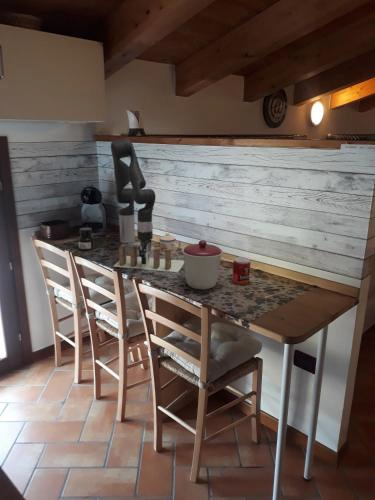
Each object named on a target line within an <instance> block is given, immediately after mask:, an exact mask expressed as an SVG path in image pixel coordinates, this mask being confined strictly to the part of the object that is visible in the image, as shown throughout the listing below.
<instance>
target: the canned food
mask: <svg viewBox="0 0 375 500" xmlns="http://www.w3.org/2000/svg"><path fill="white" fill-rule="evenodd" d="M232 264H233V265H232V282H233V283H234V284H235V285H240V286H245V285H248V284H249V283H250V273H251V259H250V258H249V257H244V256H238V257H234V258H233V263H232Z"/></svg>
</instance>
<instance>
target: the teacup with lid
mask: <svg viewBox="0 0 375 500" xmlns="http://www.w3.org/2000/svg"><path fill="white" fill-rule="evenodd" d="M159 247H160V255H164V256H165V250H166V249H167V248H171V256H173V255H175V254H176V251H177V249H178V245H177V243H176V237H175V236H172V235H170V233H165V234H164V235H162V236H160V237H159Z"/></svg>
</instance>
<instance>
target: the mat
mask: <svg viewBox="0 0 375 500" xmlns="http://www.w3.org/2000/svg"><path fill="white" fill-rule="evenodd" d="M113 267H116V268H117V267H118V268H127V269H139V270H149V271H160V272H173V273H179V272H180V270H181V269H182V267H184V260H178V259H171V268H170V269H169V270H165V258H160V266H159V267H158V269H154V262H153V257H149V265H148V266H147V267H146V268H142V263H141V257H140V256H137V265H136V266H135V267H131V256H130V255H126V264H125V265H124V266H120V264H119V261H117V262H116V263H115V264H114V265H113Z"/></svg>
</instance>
